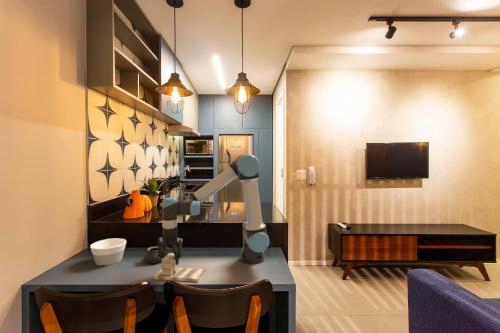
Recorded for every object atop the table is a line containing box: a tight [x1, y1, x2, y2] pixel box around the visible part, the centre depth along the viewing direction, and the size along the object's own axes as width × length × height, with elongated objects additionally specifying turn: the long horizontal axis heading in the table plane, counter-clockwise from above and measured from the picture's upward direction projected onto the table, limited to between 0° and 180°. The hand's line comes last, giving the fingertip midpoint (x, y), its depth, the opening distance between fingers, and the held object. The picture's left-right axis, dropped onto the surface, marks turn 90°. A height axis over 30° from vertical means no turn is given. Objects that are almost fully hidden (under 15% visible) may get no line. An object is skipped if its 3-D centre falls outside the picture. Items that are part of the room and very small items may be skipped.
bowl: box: [90, 237, 127, 266], centre depth 155 cm, size 19×19×11 cm
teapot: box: [143, 241, 171, 264], centre depth 159 cm, size 19×15×10 cm
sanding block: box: [161, 252, 180, 276], centre depth 136 cm, size 9×5×8 cm, turn 171°
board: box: [153, 267, 207, 283], centre depth 136 cm, size 24×11×2 cm, turn 82°
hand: (170, 269), depth 137 cm, fingers closed on sanding block, 5 cm apart
